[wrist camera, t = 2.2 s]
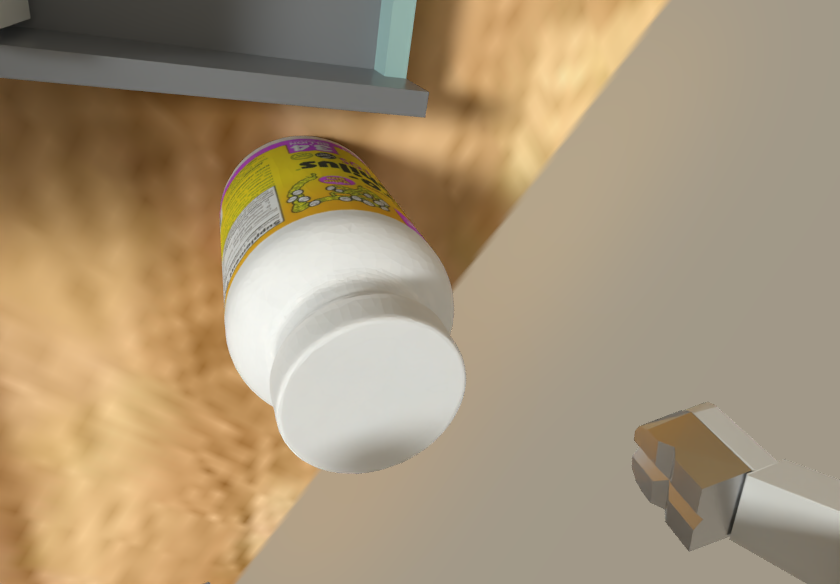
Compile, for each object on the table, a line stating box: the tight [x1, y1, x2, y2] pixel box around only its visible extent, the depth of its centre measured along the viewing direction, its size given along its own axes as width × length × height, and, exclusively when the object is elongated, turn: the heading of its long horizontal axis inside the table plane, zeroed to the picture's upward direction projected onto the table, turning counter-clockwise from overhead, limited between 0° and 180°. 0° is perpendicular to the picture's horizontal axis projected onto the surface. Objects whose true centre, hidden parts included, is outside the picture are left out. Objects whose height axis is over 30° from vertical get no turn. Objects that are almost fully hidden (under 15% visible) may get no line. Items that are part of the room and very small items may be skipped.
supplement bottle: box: [220, 136, 466, 474], centre depth 19 cm, size 7×7×13 cm
